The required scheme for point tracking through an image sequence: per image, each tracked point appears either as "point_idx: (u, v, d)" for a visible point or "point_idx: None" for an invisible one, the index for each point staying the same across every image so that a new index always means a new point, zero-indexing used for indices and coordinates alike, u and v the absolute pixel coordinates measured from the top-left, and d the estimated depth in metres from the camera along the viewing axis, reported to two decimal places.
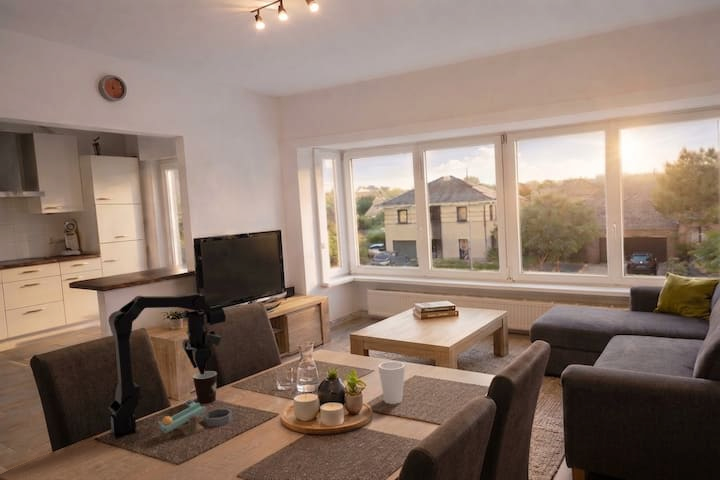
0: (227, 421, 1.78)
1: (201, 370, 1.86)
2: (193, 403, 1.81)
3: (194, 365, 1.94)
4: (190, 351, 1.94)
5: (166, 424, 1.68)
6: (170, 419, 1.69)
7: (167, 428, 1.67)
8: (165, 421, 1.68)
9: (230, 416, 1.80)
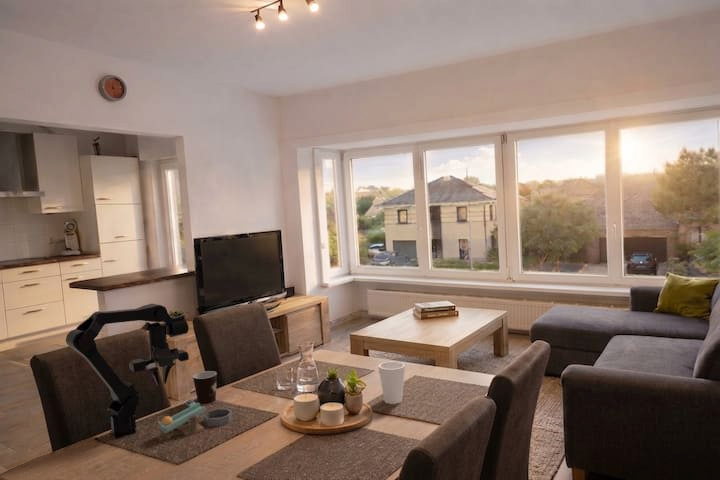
0: (227, 421, 1.78)
1: None
2: (193, 403, 1.81)
3: (163, 380, 1.85)
4: None
5: (166, 424, 1.68)
6: (170, 419, 1.69)
7: (167, 428, 1.67)
8: (165, 421, 1.68)
9: (230, 416, 1.80)
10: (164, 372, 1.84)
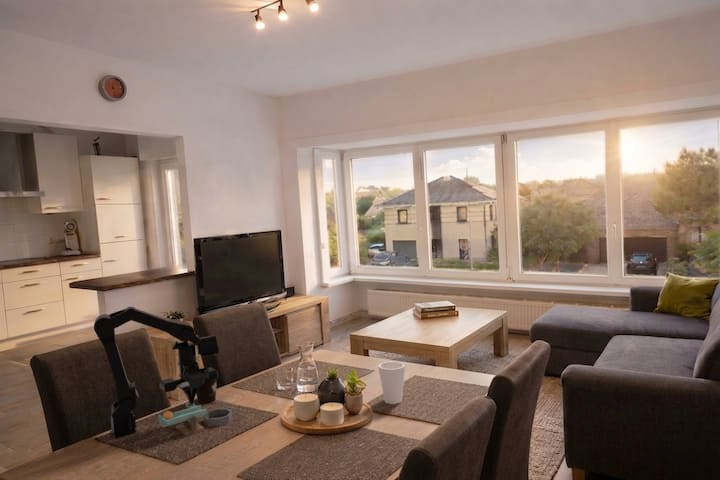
0: (227, 421, 1.78)
1: (188, 399, 1.83)
2: (194, 406, 1.82)
3: None
4: (190, 384, 1.84)
5: (166, 418, 1.68)
6: (171, 414, 1.69)
7: (167, 422, 1.67)
8: (166, 415, 1.68)
9: (230, 416, 1.80)
10: (191, 391, 1.83)
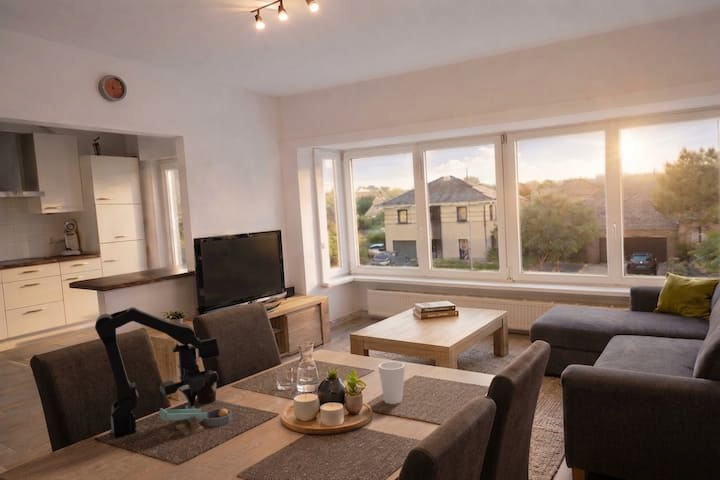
0: (227, 421, 1.78)
1: (188, 402, 1.83)
2: (194, 409, 1.82)
3: None
4: None
5: (223, 416, 1.80)
6: (226, 411, 1.81)
7: (168, 416, 1.67)
8: (222, 414, 1.80)
9: (230, 416, 1.80)
10: (192, 394, 1.83)
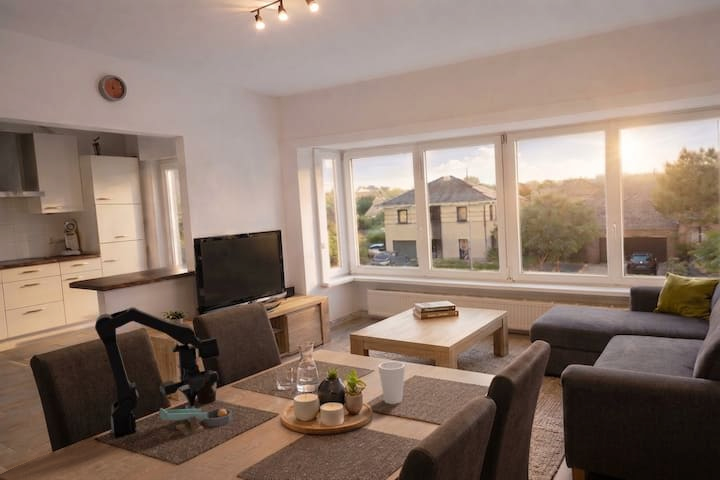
0: (227, 421, 1.78)
1: (188, 402, 1.83)
2: (194, 409, 1.82)
3: None
4: None
5: None
6: (224, 411, 1.81)
7: (168, 416, 1.67)
8: (220, 415, 1.80)
9: (230, 416, 1.80)
10: (192, 394, 1.83)
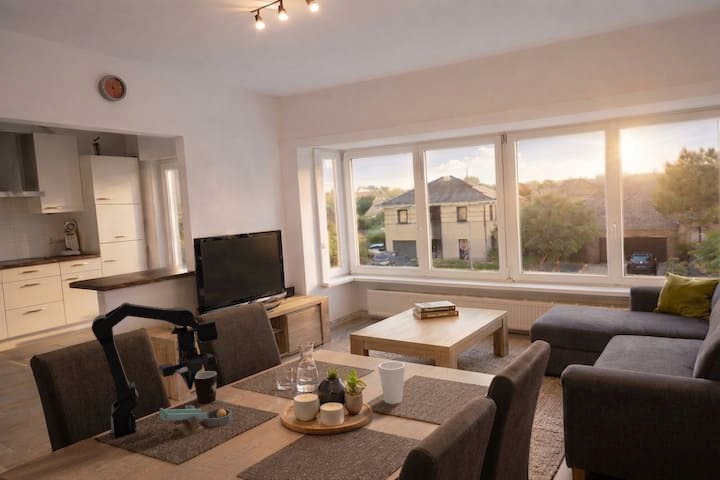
0: (227, 421, 1.78)
1: (186, 385, 1.82)
2: (194, 409, 1.82)
3: None
4: None
5: None
6: (223, 411, 1.80)
7: (168, 416, 1.67)
8: (220, 416, 1.80)
9: (230, 416, 1.80)
10: (190, 377, 1.82)
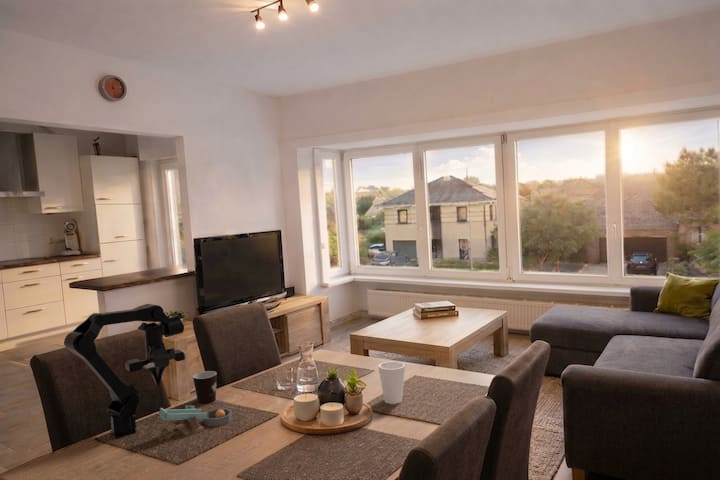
0: (227, 421, 1.78)
1: (154, 380, 1.84)
2: (194, 409, 1.82)
3: None
4: None
5: None
6: (221, 412, 1.80)
7: (168, 416, 1.67)
8: (219, 417, 1.79)
9: (230, 416, 1.80)
10: (158, 372, 1.84)
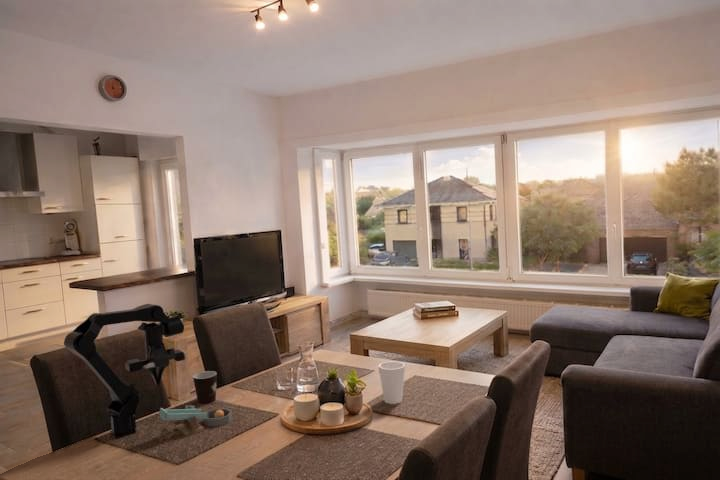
0: (227, 421, 1.78)
1: (154, 380, 1.84)
2: (194, 409, 1.82)
3: None
4: None
5: None
6: (219, 413, 1.79)
7: (168, 416, 1.67)
8: None
9: (230, 416, 1.80)
10: (158, 372, 1.84)
